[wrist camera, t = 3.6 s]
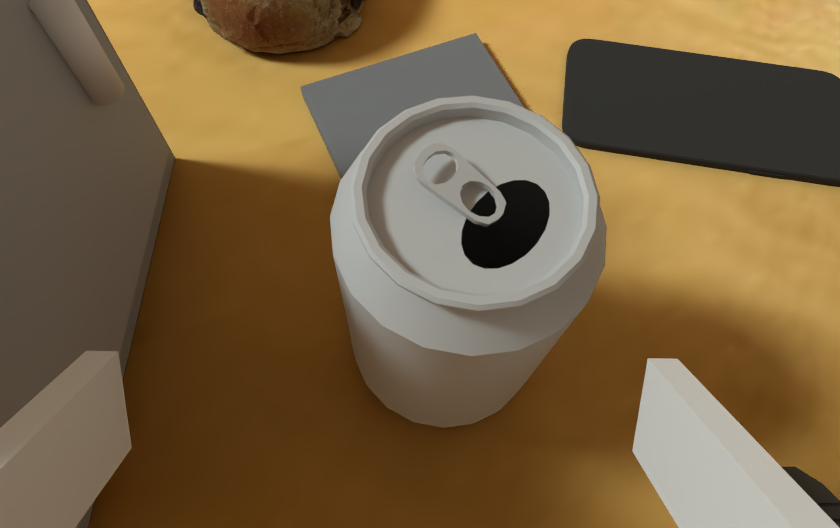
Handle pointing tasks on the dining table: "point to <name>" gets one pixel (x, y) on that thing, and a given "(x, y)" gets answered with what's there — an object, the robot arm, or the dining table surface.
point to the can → (463, 254)
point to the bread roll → (281, 22)
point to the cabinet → (70, 196)
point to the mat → (399, 92)
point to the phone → (703, 110)
